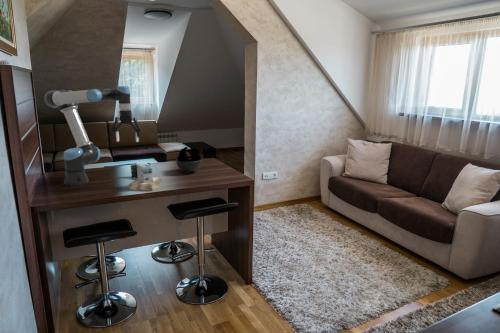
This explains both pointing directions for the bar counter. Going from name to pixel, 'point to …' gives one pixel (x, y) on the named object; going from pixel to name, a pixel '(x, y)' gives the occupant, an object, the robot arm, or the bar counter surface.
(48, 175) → the bar counter surface
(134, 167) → the camera
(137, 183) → the base
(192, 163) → the coal bowl
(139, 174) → the light bulb box
